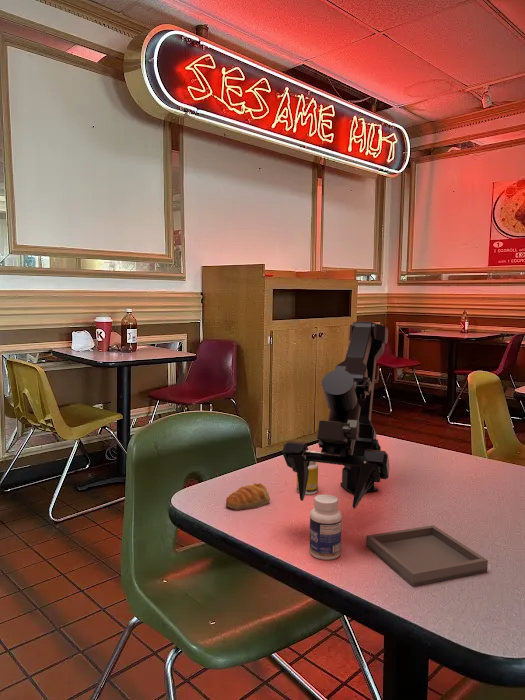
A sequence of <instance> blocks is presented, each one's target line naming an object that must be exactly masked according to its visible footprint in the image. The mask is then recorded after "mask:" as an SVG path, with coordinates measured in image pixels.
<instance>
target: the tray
mask: <svg viewBox="0 0 525 700" xmlns="http://www.w3.org/2000/svg"><path fill="white" fill-rule="evenodd" d="M365 537H366V539H365V540H366V541H365V542H366V543H365V547H366V548H367V549H369V551H371V552H372V553H373V554H374V555H375V554H376V555H375V556H377V558H379V559H380V560H381V561H382V562H383V563H384V564H385V565H387V566H388V567H389V568H390V569H392V570H393V572H394V573H396V574H397V575H399V577H401V578H402V579H403V580H405V582H406V583H408V584H409V585H410V586H411V587H413V588H414V587H417V586H423V585H428V584H433V583H438V582H442V581H443V582H444V581H448V580H453V579H458V578H465V577H470V576H475V575H479V574H485V573H488V564H489V563H488V559H487V558H485V557H484V556H482V555H481V554H479V553H477V552H476V551H474V550H473V549H471V548H469V547H468V546H466V544H463V543H462V542H460V541H459V540H457V539H456V538H454V537H453V536H451V535H449V534H448V533H446V532H445V531H444V530H442V529H440V528H439V527H437V526H436V525H434V524H432V525H426V526H421V527H420V526H419V527H414V528H413V527H412V528H407V529H406V528H405V529H401V530H393V531H387V532H381V533H374V534H373V533H372V534H367V535H366V536H365Z"/></svg>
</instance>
